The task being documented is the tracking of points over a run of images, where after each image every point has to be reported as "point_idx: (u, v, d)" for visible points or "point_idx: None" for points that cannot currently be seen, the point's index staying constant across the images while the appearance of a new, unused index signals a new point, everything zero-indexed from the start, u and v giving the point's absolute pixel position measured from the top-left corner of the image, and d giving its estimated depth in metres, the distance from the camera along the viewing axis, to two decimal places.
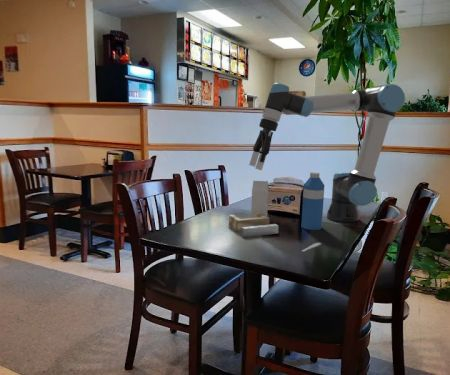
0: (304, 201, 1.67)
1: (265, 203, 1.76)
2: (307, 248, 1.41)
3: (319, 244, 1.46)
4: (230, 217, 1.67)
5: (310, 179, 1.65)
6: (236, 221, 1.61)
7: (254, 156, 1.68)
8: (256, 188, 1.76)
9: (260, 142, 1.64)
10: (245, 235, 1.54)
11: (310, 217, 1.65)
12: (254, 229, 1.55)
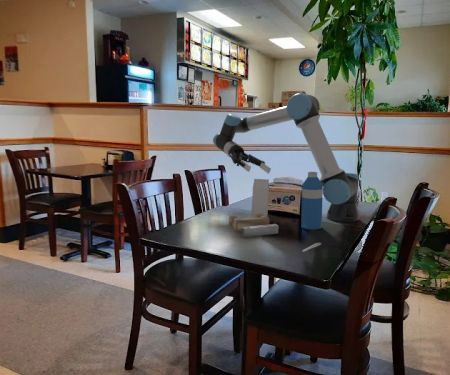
0: (303, 201, 1.67)
1: (266, 200, 1.77)
2: (307, 248, 1.41)
3: (319, 244, 1.46)
4: (230, 217, 1.67)
5: (308, 179, 1.65)
6: (236, 221, 1.61)
7: (262, 167, 1.85)
8: (257, 185, 1.79)
9: (251, 160, 1.87)
10: (245, 235, 1.54)
11: (310, 217, 1.65)
12: (254, 229, 1.55)
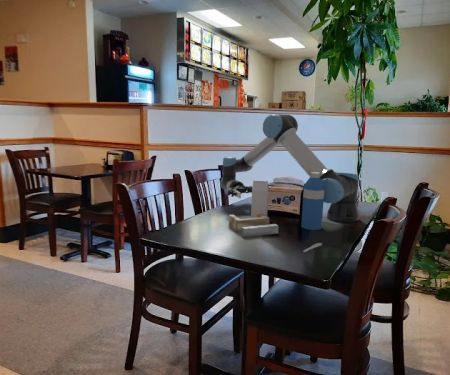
0: (304, 201, 1.66)
1: (265, 203, 1.76)
2: (308, 248, 1.41)
3: (320, 244, 1.46)
4: (230, 217, 1.67)
5: (310, 179, 1.64)
6: (236, 221, 1.61)
7: None
8: (256, 188, 1.76)
9: (249, 190, 1.97)
10: (245, 235, 1.54)
11: (310, 217, 1.65)
12: (254, 229, 1.55)
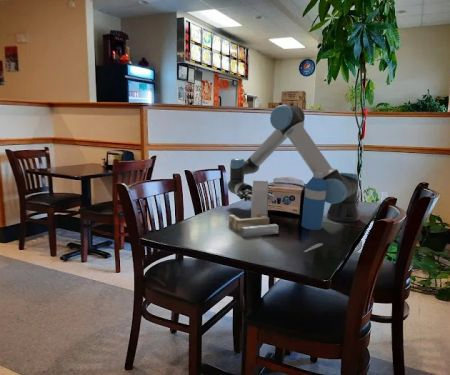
0: (306, 201, 1.65)
1: (265, 203, 1.76)
2: (309, 249, 1.41)
3: None
4: (230, 217, 1.67)
5: (313, 179, 1.63)
6: (236, 221, 1.61)
7: (268, 197, 1.81)
8: (256, 188, 1.76)
9: None
10: (245, 235, 1.54)
11: (311, 217, 1.65)
12: (254, 229, 1.55)
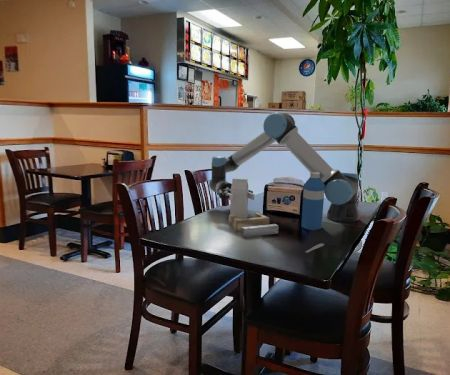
0: (304, 201, 1.65)
1: (244, 202, 1.71)
2: (311, 249, 1.40)
3: (322, 245, 1.45)
4: (230, 217, 1.67)
5: (310, 179, 1.63)
6: (236, 221, 1.61)
7: (248, 196, 1.77)
8: (235, 186, 1.72)
9: None
10: (245, 235, 1.54)
11: (310, 218, 1.65)
12: (254, 229, 1.55)
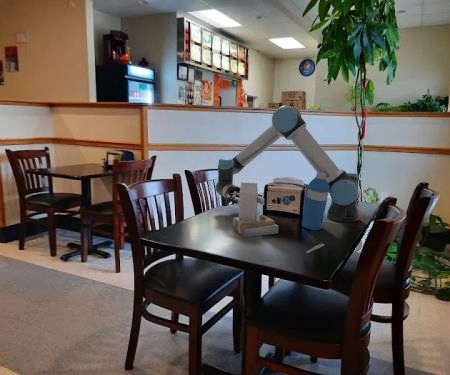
0: (307, 201, 1.64)
1: (254, 207, 1.62)
2: (311, 249, 1.40)
3: (323, 245, 1.45)
4: (234, 220, 1.63)
5: (316, 180, 1.61)
6: (241, 224, 1.57)
7: (258, 200, 1.67)
8: (244, 191, 1.62)
9: None
10: (245, 235, 1.54)
11: (311, 218, 1.64)
12: (254, 229, 1.55)
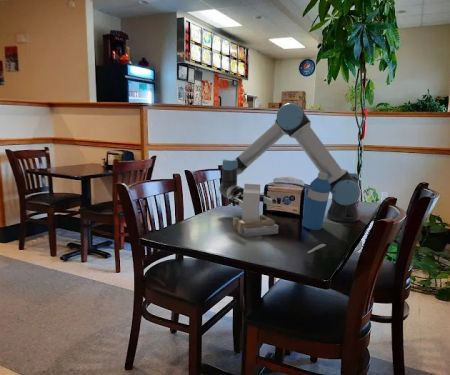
0: (308, 201, 1.64)
1: (257, 207, 1.62)
2: (312, 250, 1.40)
3: (324, 245, 1.45)
4: (234, 220, 1.63)
5: (317, 180, 1.60)
6: (241, 224, 1.57)
7: (265, 201, 1.65)
8: (248, 191, 1.64)
9: None
10: (245, 235, 1.54)
11: (312, 218, 1.64)
12: (254, 229, 1.55)
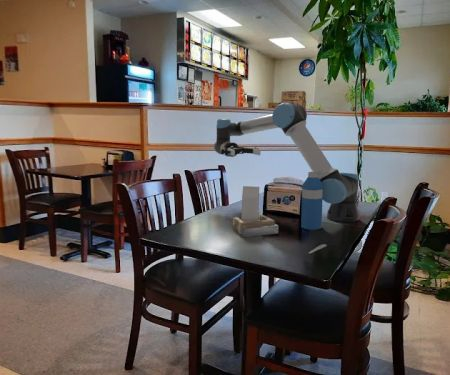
0: (303, 201, 1.66)
1: (256, 211, 1.61)
2: (313, 250, 1.39)
3: None
4: (234, 220, 1.63)
5: (308, 179, 1.64)
6: (241, 224, 1.57)
7: (255, 152, 1.85)
8: (246, 194, 1.61)
9: (244, 151, 1.90)
10: (245, 235, 1.54)
11: (310, 217, 1.65)
12: (254, 229, 1.55)
